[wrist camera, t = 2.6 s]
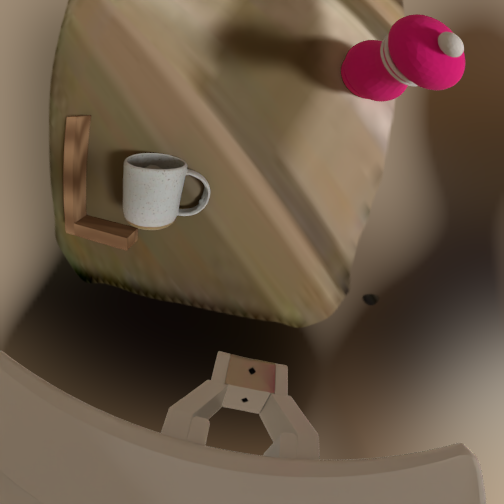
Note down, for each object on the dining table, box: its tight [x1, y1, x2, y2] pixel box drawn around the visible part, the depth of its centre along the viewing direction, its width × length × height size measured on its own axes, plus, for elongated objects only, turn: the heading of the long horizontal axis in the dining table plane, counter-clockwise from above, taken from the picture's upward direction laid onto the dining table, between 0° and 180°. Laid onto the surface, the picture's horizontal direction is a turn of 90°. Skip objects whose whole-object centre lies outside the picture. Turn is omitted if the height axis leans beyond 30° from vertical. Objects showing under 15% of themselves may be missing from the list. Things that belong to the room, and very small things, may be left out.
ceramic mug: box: [123, 153, 210, 230], centre depth 32 cm, size 11×8×8 cm
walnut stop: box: [63, 115, 138, 251], centre depth 33 cm, size 18×12×4 cm, turn 167°
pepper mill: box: [341, 15, 465, 101], centre depth 17 cm, size 7×7×20 cm
